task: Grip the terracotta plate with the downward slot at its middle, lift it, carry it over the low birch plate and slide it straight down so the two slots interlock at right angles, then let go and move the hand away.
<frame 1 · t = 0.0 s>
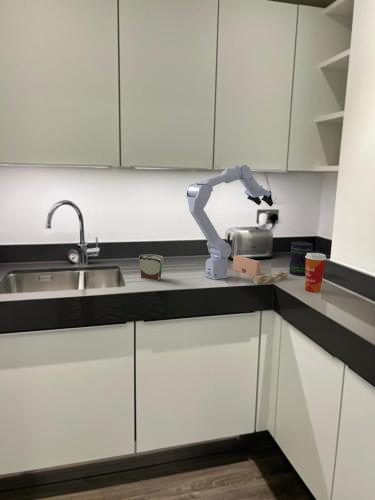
hand: (265, 204, 180), 32 cm above the countertop, tool tilted 50°, fingers open, 7 cm apart
terracotta slotted plate: (245, 272, 179), on the countertop
storage jar: (299, 274, 180), on the countertop
birch slotted plate: (270, 280, 166), on the countertop
coffee cup: (312, 290, 153), on the countertop
food container: (153, 278, 165), on the countertop
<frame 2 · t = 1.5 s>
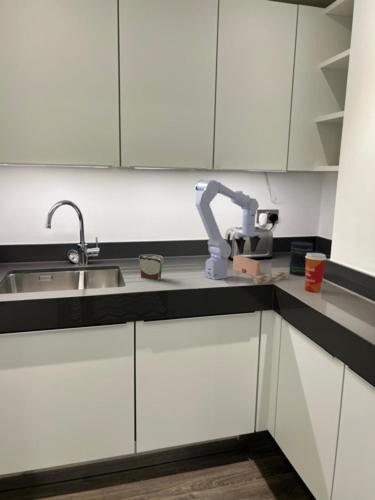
hand: (246, 252, 177), 10 cm above the countertop, tool pointing down, fingers open, 7 cm apart
nothing on the countertop moved.
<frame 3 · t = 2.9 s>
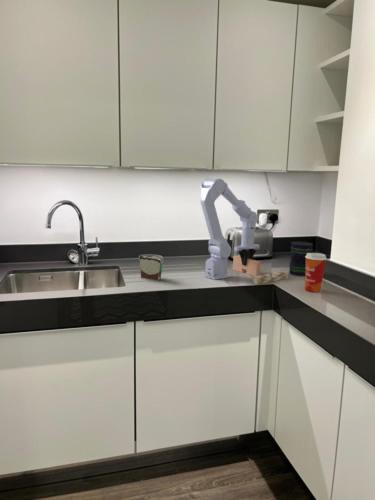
hand: (246, 264, 178), 4 cm above the countertop, tool pointing down, fingers closed on terracotta slotted plate, 2 cm apart
terracotta slotted plate: (245, 272, 179), on the countertop, touching gripper
everything else where it was.
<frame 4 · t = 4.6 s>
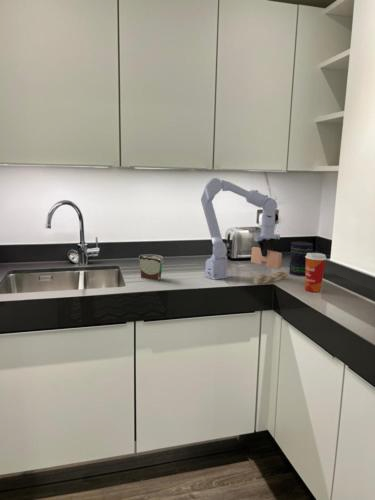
hand: (265, 255, 167), 10 cm above the countertop, tool pointing down, fingers closed on terracotta slotted plate
terracotta slotted plate: (265, 265, 168), point 6 cm above the countertop, touching gripper
everything else where it was.
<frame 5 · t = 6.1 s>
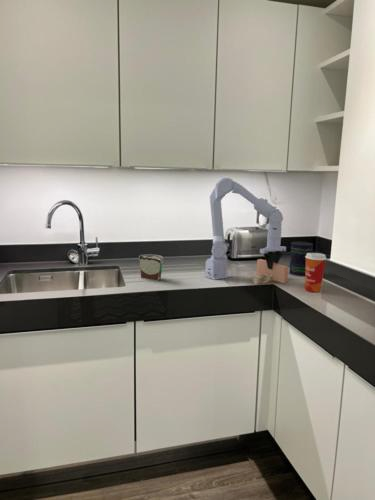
hand: (271, 268, 165), 6 cm above the countertop, tool pointing down, fingers closed on terracotta slotted plate, 2 cm apart
terracotta slotted plate: (271, 278, 166), point 1 cm above the countertop, touching gripper
everything else where it was.
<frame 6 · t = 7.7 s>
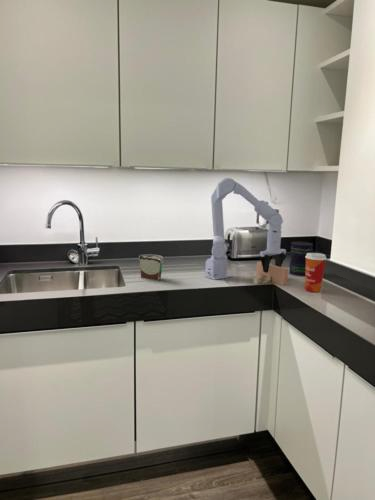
hand: (271, 271, 165), 4 cm above the countertop, tool pointing down, fingers open, 7 cm apart
terracotta slotted plate: (270, 280, 166), on the countertop
everything else where it was.
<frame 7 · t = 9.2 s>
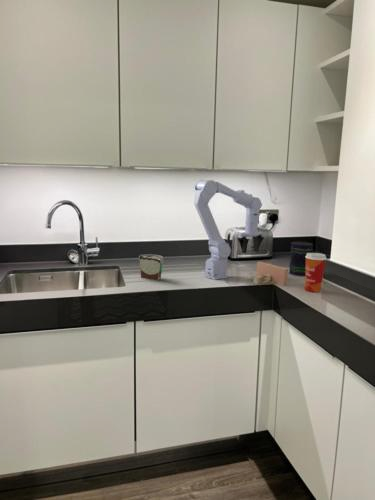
hand: (249, 252, 175), 10 cm above the countertop, tool pointing down, fingers open, 7 cm apart
nothing on the countertop moved.
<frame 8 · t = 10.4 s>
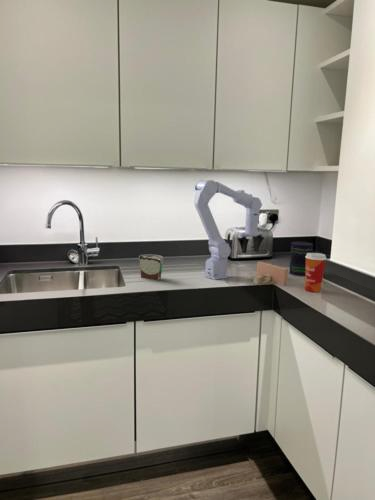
hand: (249, 252, 175), 10 cm above the countertop, tool pointing down, fingers open, 7 cm apart
nothing on the countertop moved.
at the end: terracotta slotted plate 0.0 cm off-centre on the birch slotted plate, point 0.0 cm above the birch slotted plate's base; terracotta slotted plate tilted 0°; the gripper is holding nothing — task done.
